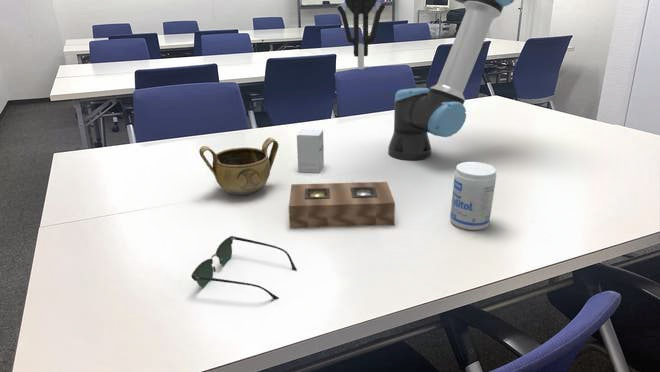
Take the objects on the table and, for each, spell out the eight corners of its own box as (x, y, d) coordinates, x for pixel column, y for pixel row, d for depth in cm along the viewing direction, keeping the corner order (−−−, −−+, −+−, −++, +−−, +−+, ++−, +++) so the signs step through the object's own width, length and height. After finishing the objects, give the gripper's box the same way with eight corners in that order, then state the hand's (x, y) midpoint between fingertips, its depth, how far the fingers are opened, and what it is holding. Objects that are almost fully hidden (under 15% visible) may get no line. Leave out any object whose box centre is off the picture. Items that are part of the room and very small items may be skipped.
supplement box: (319, 173, 153) (318, 135, 148) (297, 172, 154) (295, 134, 149) (324, 165, 159) (323, 129, 154) (303, 164, 161) (301, 128, 156)
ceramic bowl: (212, 208, 129) (205, 156, 123) (199, 187, 143) (193, 139, 138) (288, 193, 138) (286, 144, 132) (270, 175, 152) (266, 129, 146)
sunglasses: (272, 310, 88) (270, 287, 86) (192, 296, 93) (189, 274, 91) (302, 264, 103) (301, 244, 101) (231, 254, 107) (229, 234, 105)
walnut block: (386, 201, 131) (387, 180, 129) (394, 224, 118) (395, 201, 116) (292, 204, 131) (291, 183, 128) (289, 227, 118) (288, 204, 115)
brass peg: (325, 209, 126) (324, 190, 124) (325, 216, 122) (325, 196, 120) (310, 210, 126) (309, 191, 124) (310, 216, 122) (309, 197, 120)
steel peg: (370, 208, 126) (370, 189, 124) (372, 215, 123) (372, 195, 120) (355, 208, 126) (355, 190, 124) (356, 215, 123) (356, 196, 120)
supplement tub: (443, 224, 118) (447, 168, 113) (460, 211, 125) (465, 158, 119) (480, 235, 112) (486, 178, 107) (496, 221, 119) (503, 166, 113)
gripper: (383, -24, 127) (382, 65, 136) (335, -23, 127) (336, 67, 136) (387, -25, 120) (385, 69, 129) (336, -24, 120) (338, 71, 129)
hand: (360, 68), depth 133 cm, fingers closed
